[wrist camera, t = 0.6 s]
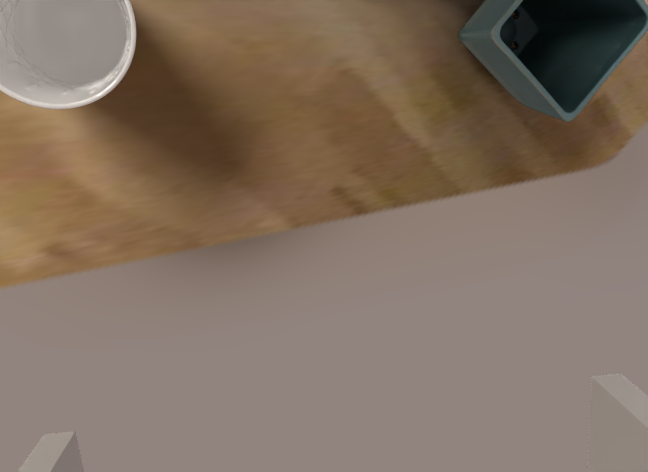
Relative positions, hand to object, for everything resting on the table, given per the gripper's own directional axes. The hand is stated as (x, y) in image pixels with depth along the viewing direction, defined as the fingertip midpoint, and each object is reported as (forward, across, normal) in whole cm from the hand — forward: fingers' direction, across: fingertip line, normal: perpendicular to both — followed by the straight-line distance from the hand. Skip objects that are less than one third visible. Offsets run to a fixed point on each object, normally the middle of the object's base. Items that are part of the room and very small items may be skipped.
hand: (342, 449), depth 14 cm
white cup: (+26, -14, +14) cm, 33 cm away
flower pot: (+33, +16, +12) cm, 38 cm away
